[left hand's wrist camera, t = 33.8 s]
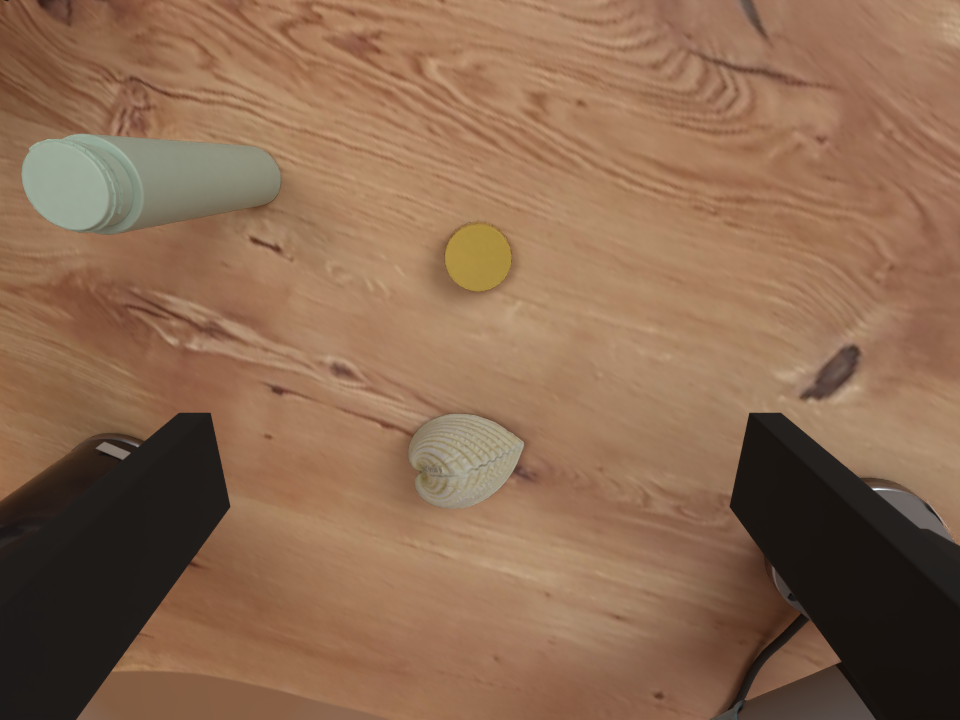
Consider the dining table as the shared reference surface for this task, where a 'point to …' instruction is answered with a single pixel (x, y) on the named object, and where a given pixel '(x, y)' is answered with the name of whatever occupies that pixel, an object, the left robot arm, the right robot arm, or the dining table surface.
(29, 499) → the right robot arm
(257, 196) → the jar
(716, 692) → the dining table surface
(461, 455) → the seashell
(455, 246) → the lid
